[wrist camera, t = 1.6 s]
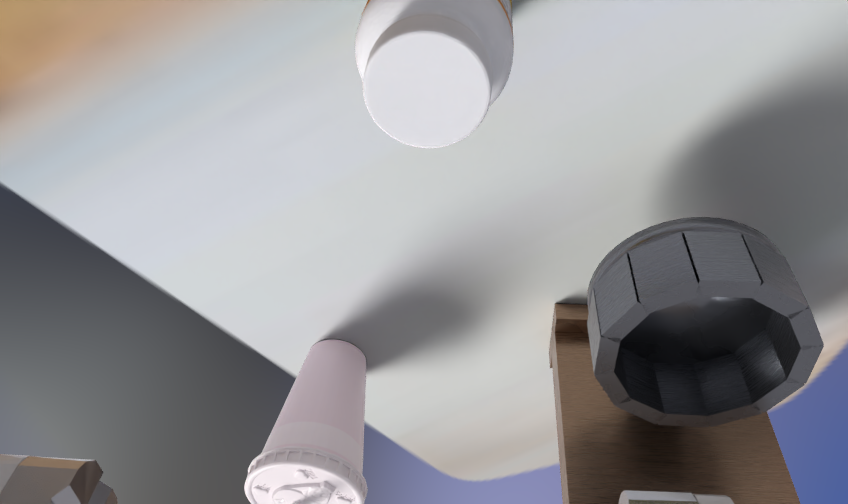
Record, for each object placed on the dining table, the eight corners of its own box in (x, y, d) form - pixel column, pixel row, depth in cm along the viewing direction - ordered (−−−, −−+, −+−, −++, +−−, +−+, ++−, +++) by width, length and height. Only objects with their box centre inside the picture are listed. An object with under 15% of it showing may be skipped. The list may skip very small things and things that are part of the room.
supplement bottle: (386, 51, 31) (349, 169, 23) (374, -81, 27) (326, 8, 20) (509, 48, 30) (512, 169, 23) (512, -86, 27) (517, 3, 19)
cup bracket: (573, 152, 33) (616, 430, 21) (792, 156, 32) (974, 449, 20) (548, 352, 42) (569, 633, 29) (721, 360, 41) (817, 652, 29)
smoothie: (266, 353, 44) (189, 571, 33) (333, 307, 41) (274, 531, 30) (340, 405, 47) (292, 623, 36) (409, 366, 44) (379, 591, 33)
